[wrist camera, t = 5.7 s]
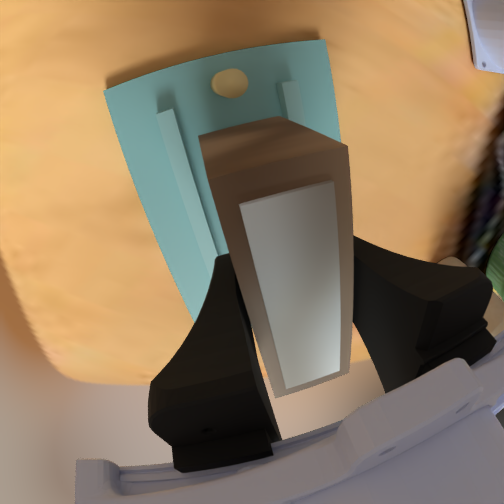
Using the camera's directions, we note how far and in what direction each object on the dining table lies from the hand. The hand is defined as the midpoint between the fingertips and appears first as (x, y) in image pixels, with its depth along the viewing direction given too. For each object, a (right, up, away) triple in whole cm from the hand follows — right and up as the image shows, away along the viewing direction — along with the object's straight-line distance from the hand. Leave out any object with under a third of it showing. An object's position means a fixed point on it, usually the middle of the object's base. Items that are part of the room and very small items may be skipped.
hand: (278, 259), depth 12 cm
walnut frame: (-1, +2, +2) cm, 3 cm away
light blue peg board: (-1, +3, +4) cm, 5 cm away
